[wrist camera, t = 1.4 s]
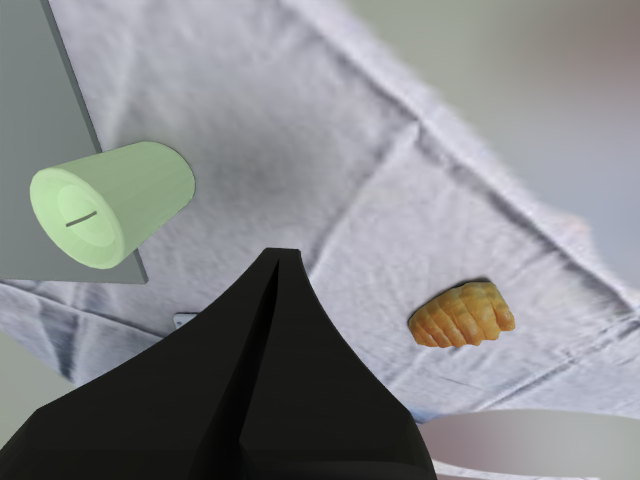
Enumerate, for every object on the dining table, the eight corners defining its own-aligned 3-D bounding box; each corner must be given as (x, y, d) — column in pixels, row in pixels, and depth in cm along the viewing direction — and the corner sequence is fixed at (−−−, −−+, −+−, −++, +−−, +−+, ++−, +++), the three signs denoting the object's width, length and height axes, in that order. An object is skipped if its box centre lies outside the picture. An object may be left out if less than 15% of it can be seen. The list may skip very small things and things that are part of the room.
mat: (148, 280, 23) (145, 284, 22) (-3, 274, 22) (-9, 278, 22) (40, -19, 13) (31, -23, 12) (-248, -52, 12) (-270, -57, 11)
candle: (122, 194, 19) (5, 256, 11) (123, 128, 16) (-21, 154, 9) (190, 217, 20) (123, 286, 13) (201, 158, 17) (125, 202, 10)
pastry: (419, 341, 29) (433, 373, 26) (396, 307, 26) (408, 338, 23) (501, 309, 26) (528, 339, 23) (485, 268, 24) (513, 295, 20)
